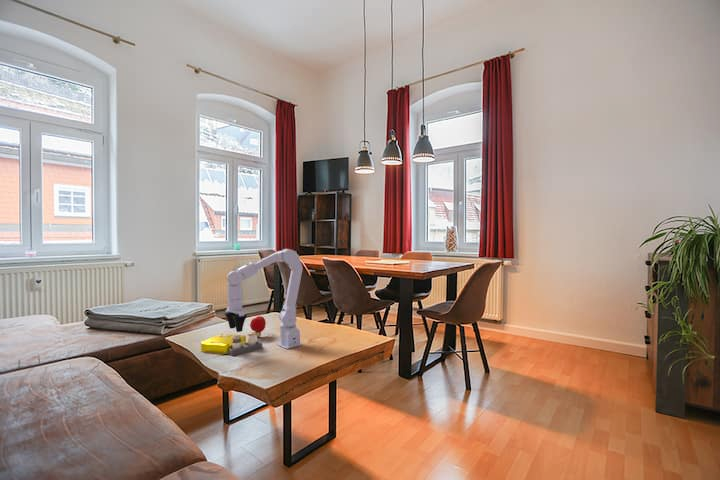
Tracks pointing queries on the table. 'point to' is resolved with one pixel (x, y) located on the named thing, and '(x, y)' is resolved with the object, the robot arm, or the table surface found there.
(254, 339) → the cylinder
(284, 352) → the table surface
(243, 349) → the fuse block
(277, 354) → the table surface
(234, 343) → the fuse
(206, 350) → the element tile
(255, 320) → the light bulb
